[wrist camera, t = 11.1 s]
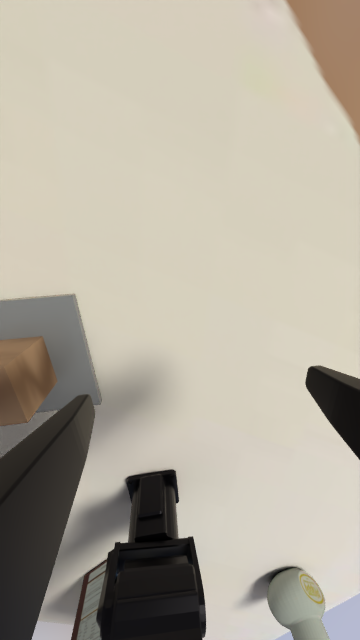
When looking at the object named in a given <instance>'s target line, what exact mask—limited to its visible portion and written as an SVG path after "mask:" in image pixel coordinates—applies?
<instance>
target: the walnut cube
mask: <svg viewBox="0 0 360 640" xmlns="http://www.w3.org/2000/svg"><path fill="white" fill-rule="evenodd" d="M57 382H58V381H57V378H56V375H55V372H54V369H53V366H52V363H51V360H50V357H49V354H48V351H47V348H46V345H45V342H44V338H43V336H39V337H28V338H18V339H7V340H0V426H4V425H12V424H20V423H28V422H29V420H30V419H31V417H32V416H33V415H34V413H35V412H36V411H37V409H38V408H39V406H40V405H41V404H42V402H43V401H44V400H45V398H46V397H47V395H48V394H49V393H50V391H51V390H52V389H53V387H54V386H55V384H56V383H57Z"/></svg>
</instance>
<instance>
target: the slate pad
mask: <svg viewBox="0 0 360 640" xmlns="http://www.w3.org/2000/svg"><path fill="white" fill-rule="evenodd" d="M39 336H43V338H44V342H45V345H46V348H47V351H48V354H49V357H50V360H51V363H52V366H53V369H54V372H55V375H56V378H57V381H58V382H57V383H56V384H55V386H54V387H53V389H52V390H51V391H50V393H49V394H48V395H47V397H46V398H45V400H44V401H43V402H42V404H41V405H40V406H39V408H38V409H37V411H36V412H35V413H38V412H45V411H53V410H61V409H62V408H63V407H64V406H65V405H67V404H68V403H69V402H70V401H72V400H73V399H74V398H75V397H77V396H78V395H83V394H89V395H90V396H91V398H92V402H93V405H100V404H101V401H102V399H101V395H100V391H99V387H98V383H97V379H96V375H95V371H94V367H93V363H92V359H91V355H90V351H89V347H88V343H87V339H86V336H85V332H84V328H83V324H82V320H81V316H80V312H79V308H78V304H77V300H76V296H75V294H65V295H53V296H42V297H30V298H18V299H6V300H0V340H7V339H18V338H28V337H39Z"/></svg>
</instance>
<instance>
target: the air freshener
mask: <svg viewBox="0 0 360 640" xmlns="http://www.w3.org/2000/svg"><path fill="white" fill-rule="evenodd" d="M267 600H268V604H269V607H270V610H271V612H272V614H273V616H274V617H275V618H276V620H277V621H278V622H279V623H280V624H281V625H282V626H284V627H286V628H288V629H290V630H291V633H292V636H293V638H294V640H330V639H329V637H328V634H327V632H326V630H325V627H324V625H323V623H322V620H321V619H322V617H323V614H324V611H325V598H324V595H323V593H322V591H321V589H320V587H319V585H318V584H317V583H316V581H315V580H314V579H313V578H312V577H311V576H310V575H309V574H308V573H306V572H304V571H302V570H300V569H298V568H290V569H287V570H284V571H282V572H280V573H278V574H277V575H276V576H275V577H274V578H273V579H272V581H271V583H270V585H269V588H268V593H267Z"/></svg>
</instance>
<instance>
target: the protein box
mask: <svg viewBox="0 0 360 640" xmlns="http://www.w3.org/2000/svg"><path fill="white" fill-rule="evenodd" d="M106 564H107V560H106V561H104V562H103V563H102V564H100V565H99V566H97V567H96V568H94V569H93V570H92V571H90V572H89V573H87V574H86V575H85V576H84V580H83V585H82V590H81V595H80V600H79V605H78V609H77V614H76V619H75V623H74V628H73V633H72V637H71V640H101V638H100V629H99V626H98V624H97V622H96V616H97V610H98V605H99V600H100V595H101V591H102V586H103V581H104V576H105V570H106ZM118 574H119V573H118Z"/></svg>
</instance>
